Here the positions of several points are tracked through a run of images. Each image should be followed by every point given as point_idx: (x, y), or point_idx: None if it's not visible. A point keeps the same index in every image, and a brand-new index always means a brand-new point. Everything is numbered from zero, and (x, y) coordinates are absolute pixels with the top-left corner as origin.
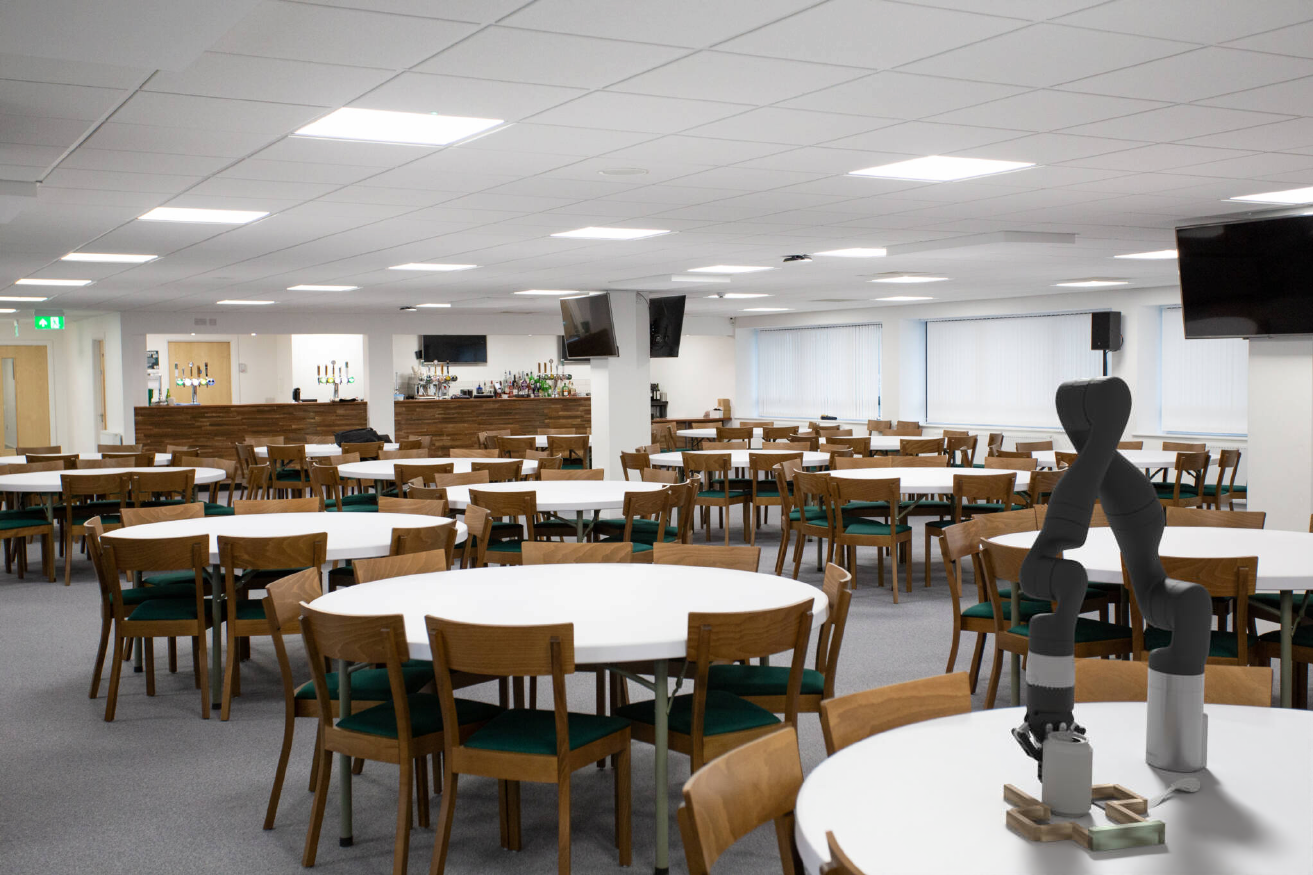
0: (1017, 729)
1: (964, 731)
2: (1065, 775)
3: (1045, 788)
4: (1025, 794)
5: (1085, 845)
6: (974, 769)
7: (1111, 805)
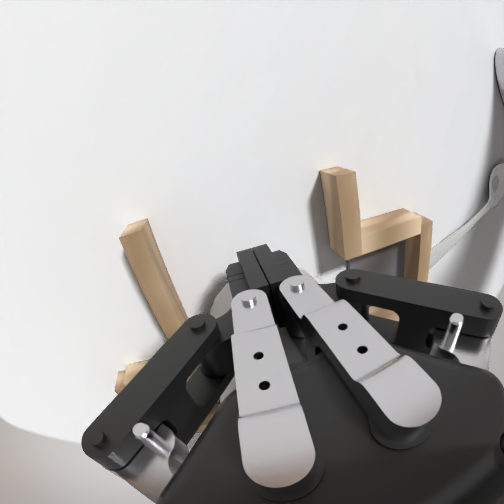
0: (115, 473)
1: None
2: None
3: None
4: (168, 315)
5: None
6: (119, 5)
7: None
